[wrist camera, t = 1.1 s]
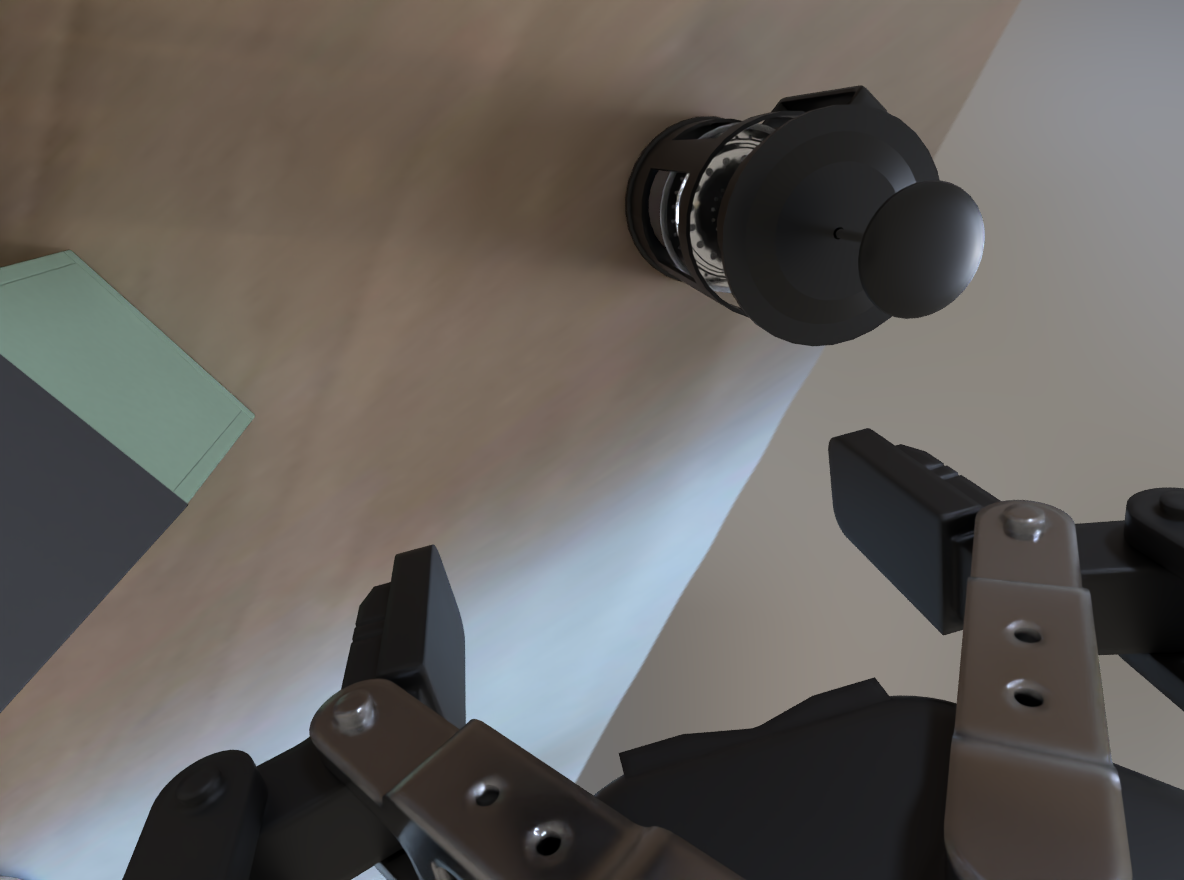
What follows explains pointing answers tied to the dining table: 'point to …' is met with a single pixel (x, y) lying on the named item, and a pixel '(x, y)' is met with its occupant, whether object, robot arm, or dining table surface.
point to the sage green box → (116, 370)
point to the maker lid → (62, 523)
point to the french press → (808, 217)
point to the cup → (8, 878)
